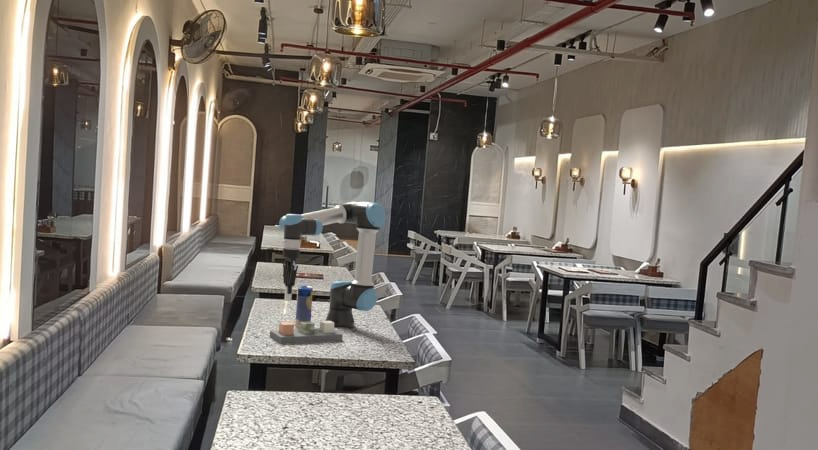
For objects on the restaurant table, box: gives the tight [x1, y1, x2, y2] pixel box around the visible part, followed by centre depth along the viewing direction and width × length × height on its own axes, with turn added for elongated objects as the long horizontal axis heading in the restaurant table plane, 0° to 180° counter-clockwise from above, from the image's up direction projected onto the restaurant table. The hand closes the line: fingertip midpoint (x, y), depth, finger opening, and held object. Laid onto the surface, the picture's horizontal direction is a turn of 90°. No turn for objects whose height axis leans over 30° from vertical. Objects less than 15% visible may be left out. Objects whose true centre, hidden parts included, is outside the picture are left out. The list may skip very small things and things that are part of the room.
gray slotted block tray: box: [269, 327, 344, 345], centre depth 329 cm, size 30×14×4 cm, turn 121°
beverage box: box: [294, 285, 314, 329], centre depth 346 cm, size 7×11×22 cm, turn 10°
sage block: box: [300, 321, 315, 334], centre depth 329 cm, size 5×5×5 cm
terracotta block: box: [278, 321, 295, 335], centre depth 324 cm, size 5×5×5 cm
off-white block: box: [319, 320, 335, 333], centre depth 334 cm, size 5×5×5 cm
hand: (287, 300), depth 323 cm, fingers closed
